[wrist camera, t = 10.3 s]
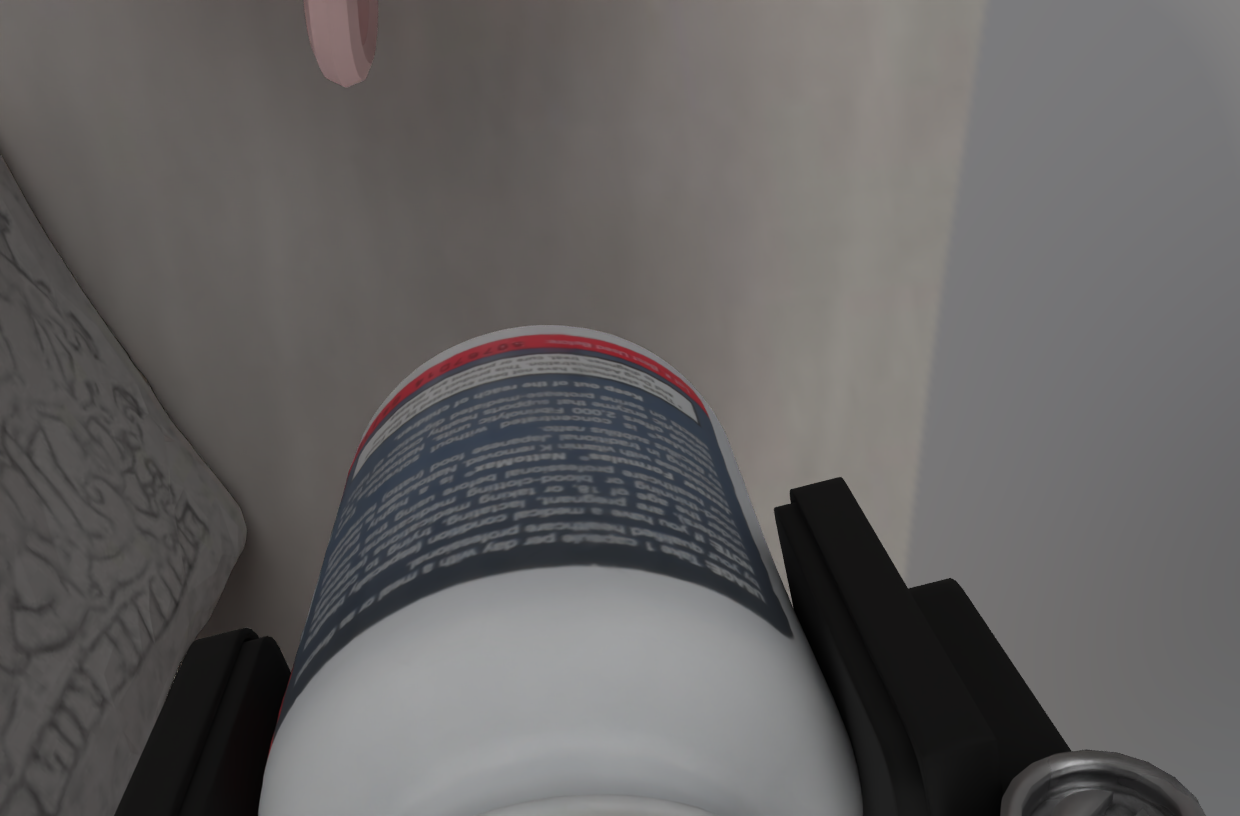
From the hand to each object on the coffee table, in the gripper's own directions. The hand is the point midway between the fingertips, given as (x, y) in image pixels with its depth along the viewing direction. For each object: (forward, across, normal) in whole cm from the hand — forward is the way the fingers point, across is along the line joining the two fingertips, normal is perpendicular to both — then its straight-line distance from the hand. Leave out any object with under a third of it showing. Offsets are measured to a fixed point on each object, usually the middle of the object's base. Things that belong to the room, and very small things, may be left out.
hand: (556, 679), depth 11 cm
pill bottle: (+4, 0, 0) cm, 4 cm away
